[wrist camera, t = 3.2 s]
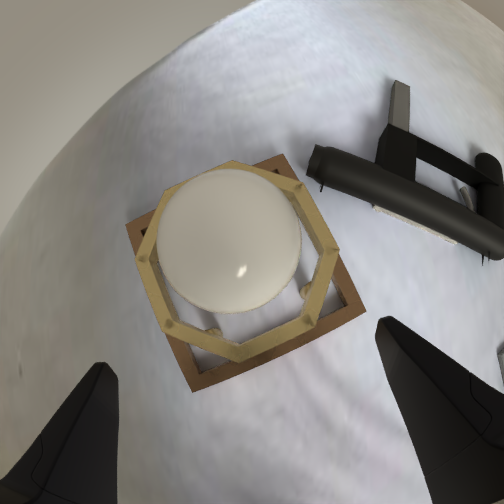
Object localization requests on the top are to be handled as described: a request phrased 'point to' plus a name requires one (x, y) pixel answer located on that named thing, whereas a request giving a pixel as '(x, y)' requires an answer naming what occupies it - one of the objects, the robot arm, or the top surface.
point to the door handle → (413, 193)
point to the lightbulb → (229, 241)
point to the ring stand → (268, 342)
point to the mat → (501, 362)
